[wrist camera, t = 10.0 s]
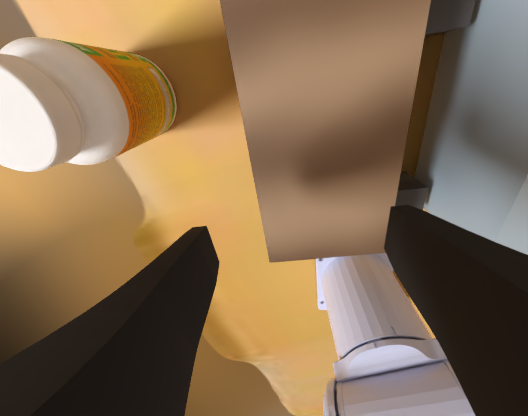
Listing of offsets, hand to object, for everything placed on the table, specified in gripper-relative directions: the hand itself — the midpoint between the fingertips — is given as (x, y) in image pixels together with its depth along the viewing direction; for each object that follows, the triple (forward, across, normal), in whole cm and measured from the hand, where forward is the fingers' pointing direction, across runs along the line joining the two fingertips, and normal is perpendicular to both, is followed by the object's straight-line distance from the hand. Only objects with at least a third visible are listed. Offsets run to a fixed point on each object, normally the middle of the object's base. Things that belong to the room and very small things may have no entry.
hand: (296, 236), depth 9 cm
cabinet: (+10, -7, -2) cm, 13 cm away
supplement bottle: (+11, +10, -6) cm, 16 cm away
